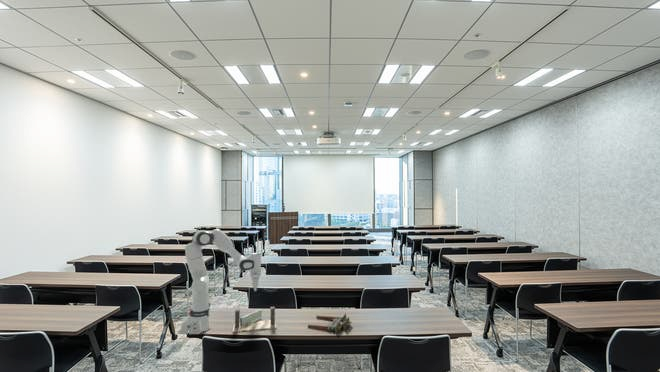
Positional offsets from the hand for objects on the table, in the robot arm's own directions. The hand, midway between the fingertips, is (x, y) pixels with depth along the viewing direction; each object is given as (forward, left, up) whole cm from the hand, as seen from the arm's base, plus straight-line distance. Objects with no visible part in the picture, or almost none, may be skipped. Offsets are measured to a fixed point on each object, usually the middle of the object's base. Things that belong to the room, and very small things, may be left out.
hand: (255, 290), depth 253 cm
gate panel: (-3, -12, -20) cm, 23 cm away
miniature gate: (+56, -29, -22) cm, 67 cm away
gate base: (0, -19, -21) cm, 28 cm away
